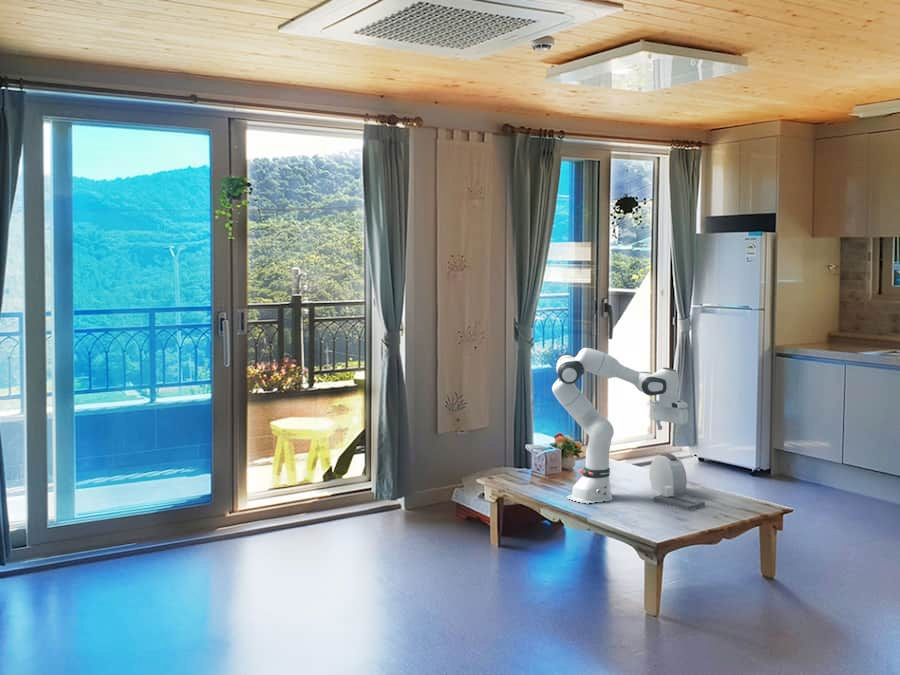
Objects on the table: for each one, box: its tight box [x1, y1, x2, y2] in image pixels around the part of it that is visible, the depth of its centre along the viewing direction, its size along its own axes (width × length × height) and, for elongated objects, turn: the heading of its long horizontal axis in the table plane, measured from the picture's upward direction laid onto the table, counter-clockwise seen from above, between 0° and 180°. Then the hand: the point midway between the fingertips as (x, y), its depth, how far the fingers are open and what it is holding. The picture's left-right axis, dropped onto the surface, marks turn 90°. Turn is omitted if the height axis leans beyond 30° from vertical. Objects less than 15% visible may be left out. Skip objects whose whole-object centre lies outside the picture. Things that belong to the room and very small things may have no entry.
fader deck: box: [652, 494, 706, 511], centre depth 406 cm, size 12×20×2 cm, turn 38°
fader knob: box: [661, 486, 674, 497], centre depth 411 cm, size 5×3×5 cm, turn 128°
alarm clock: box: [649, 453, 688, 496], centre depth 423 cm, size 21×8×20 cm, turn 18°
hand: (667, 431), depth 410 cm, fingers open, 8 cm apart
